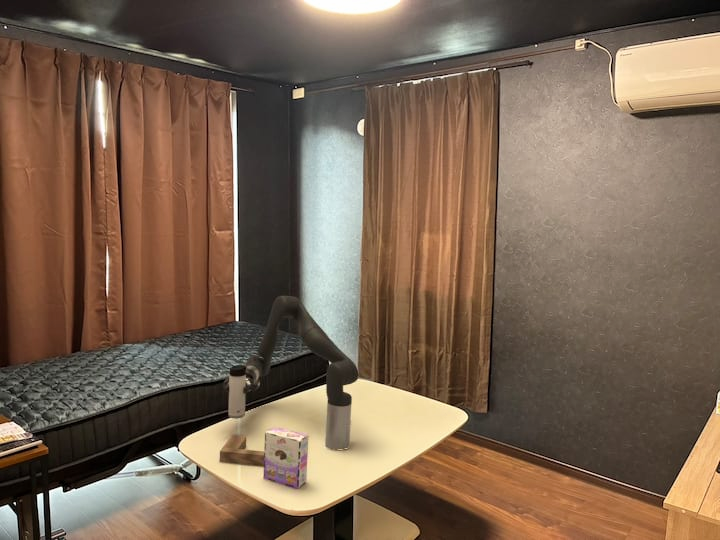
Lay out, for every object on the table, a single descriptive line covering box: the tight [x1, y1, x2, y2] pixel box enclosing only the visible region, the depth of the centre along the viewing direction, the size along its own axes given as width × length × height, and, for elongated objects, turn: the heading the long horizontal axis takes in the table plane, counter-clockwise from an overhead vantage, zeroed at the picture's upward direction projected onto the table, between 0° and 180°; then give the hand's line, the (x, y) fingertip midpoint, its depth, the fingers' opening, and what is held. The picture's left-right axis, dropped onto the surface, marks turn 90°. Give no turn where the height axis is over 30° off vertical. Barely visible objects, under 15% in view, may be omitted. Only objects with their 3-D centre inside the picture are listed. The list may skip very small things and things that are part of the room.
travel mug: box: [228, 364, 247, 420], centre depth 210 cm, size 6×7×20 cm
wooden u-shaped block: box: [218, 434, 264, 467], centre depth 197 cm, size 22×14×4 cm, turn 86°
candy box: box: [263, 426, 310, 490], centre depth 180 cm, size 14×6×16 cm, turn 65°
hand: (235, 390), depth 208 cm, fingers closed on travel mug, 6 cm apart
